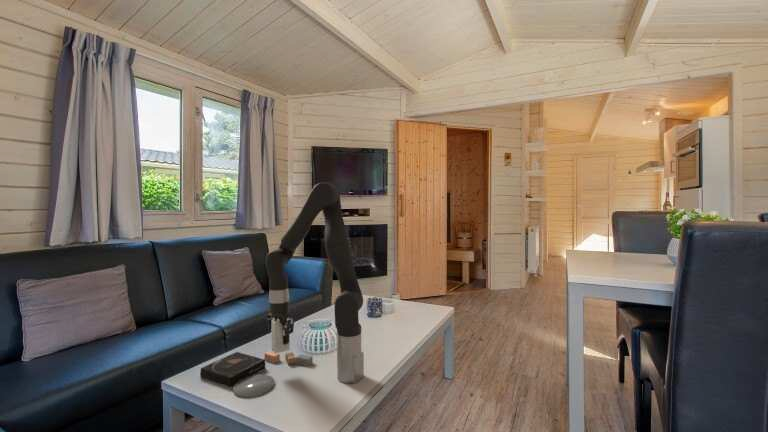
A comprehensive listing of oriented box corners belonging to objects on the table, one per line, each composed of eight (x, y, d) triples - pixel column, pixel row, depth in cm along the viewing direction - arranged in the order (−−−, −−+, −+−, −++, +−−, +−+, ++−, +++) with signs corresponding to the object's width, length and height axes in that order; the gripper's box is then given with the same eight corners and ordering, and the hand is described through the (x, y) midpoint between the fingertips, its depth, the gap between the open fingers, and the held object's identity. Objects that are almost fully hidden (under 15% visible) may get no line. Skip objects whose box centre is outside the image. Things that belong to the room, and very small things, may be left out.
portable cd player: (236, 360, 149) (235, 351, 149) (265, 369, 141) (265, 359, 141) (200, 378, 134) (199, 367, 134) (230, 388, 126) (230, 377, 126)
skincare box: (275, 354, 134) (274, 323, 134) (271, 350, 138) (270, 319, 137) (290, 350, 138) (289, 319, 137) (286, 346, 141) (285, 316, 141)
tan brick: (295, 364, 145) (295, 357, 145) (288, 366, 143) (288, 358, 143) (292, 358, 150) (292, 351, 150) (285, 360, 149) (285, 353, 148)
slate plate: (282, 383, 129) (282, 380, 129) (249, 401, 117) (249, 398, 117) (257, 373, 136) (257, 371, 136) (224, 389, 125) (224, 387, 125)
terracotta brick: (279, 360, 148) (279, 353, 148) (274, 363, 145) (273, 356, 145) (270, 357, 151) (270, 350, 151) (264, 360, 149) (264, 353, 149)
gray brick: (312, 363, 145) (312, 356, 145) (308, 366, 143) (308, 359, 143) (300, 361, 148) (300, 354, 147) (296, 364, 145) (296, 357, 145)
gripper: (299, 300, 136) (300, 342, 137) (274, 295, 144) (275, 336, 145) (284, 304, 130) (285, 349, 131) (259, 300, 138) (260, 342, 138)
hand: (280, 342), depth 138 cm, fingers closed on skincare box, 5 cm apart
